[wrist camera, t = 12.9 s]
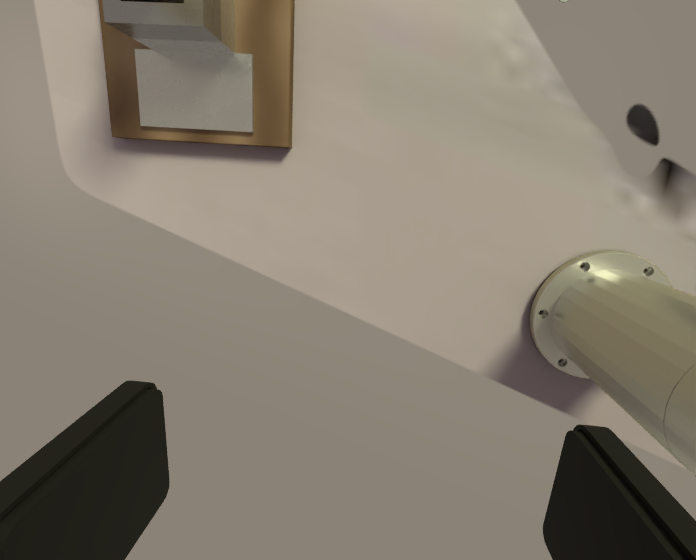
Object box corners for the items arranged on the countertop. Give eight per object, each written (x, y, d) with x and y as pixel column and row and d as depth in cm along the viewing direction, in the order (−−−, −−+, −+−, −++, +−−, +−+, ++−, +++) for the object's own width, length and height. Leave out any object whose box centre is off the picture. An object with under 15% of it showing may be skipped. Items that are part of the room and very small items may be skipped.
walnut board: (297, -142, 29) (293, -159, 27) (291, 148, 34) (287, 146, 33) (97, -145, 30) (82, -162, 28) (123, 138, 35) (112, 136, 34)
